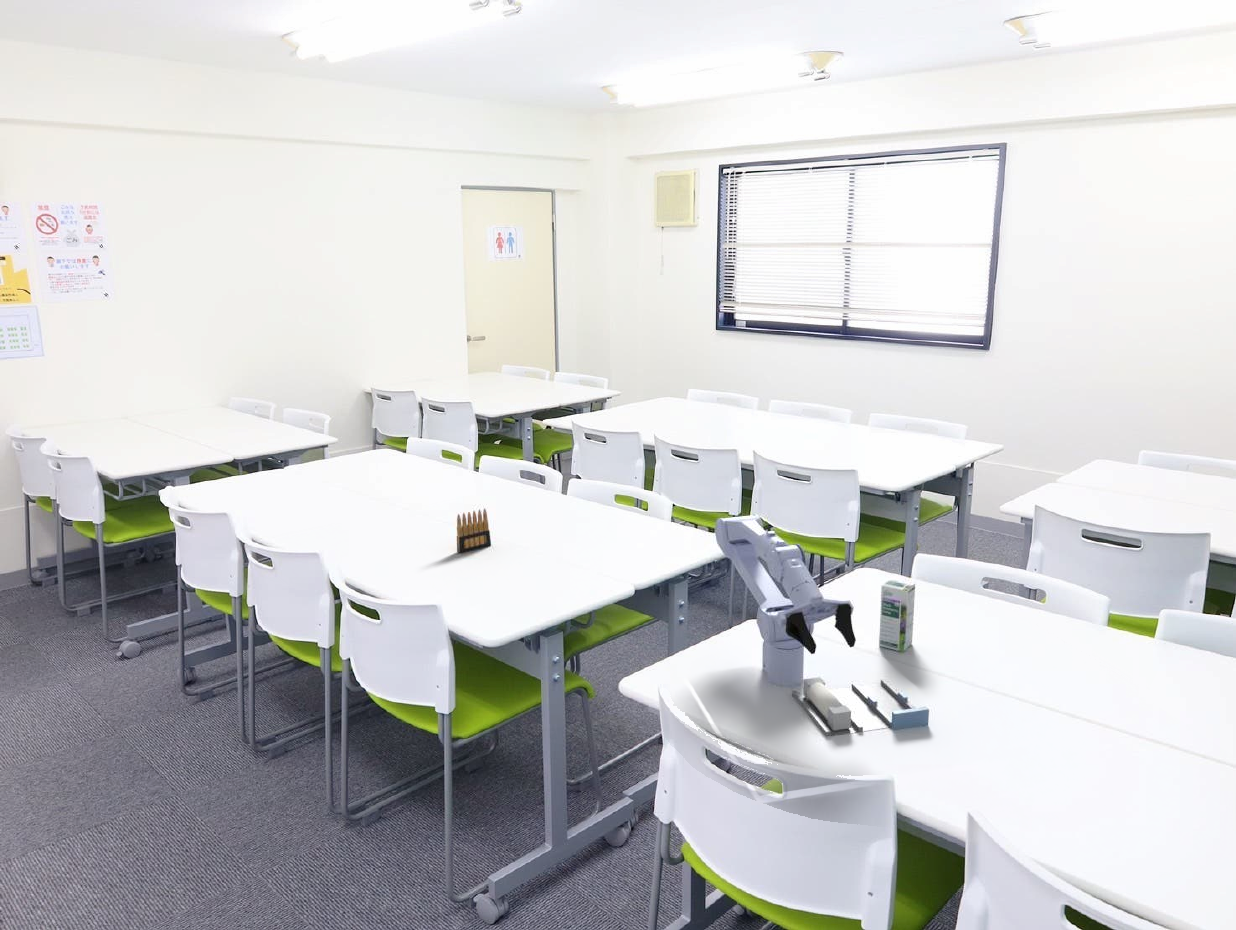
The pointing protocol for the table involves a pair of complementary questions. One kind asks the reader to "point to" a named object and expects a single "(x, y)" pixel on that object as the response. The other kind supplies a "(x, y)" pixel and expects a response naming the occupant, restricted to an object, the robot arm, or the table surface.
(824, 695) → the white rounded long block
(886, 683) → the lane divider tray
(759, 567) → the robot arm
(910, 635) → the syrup box
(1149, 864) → the table surface
